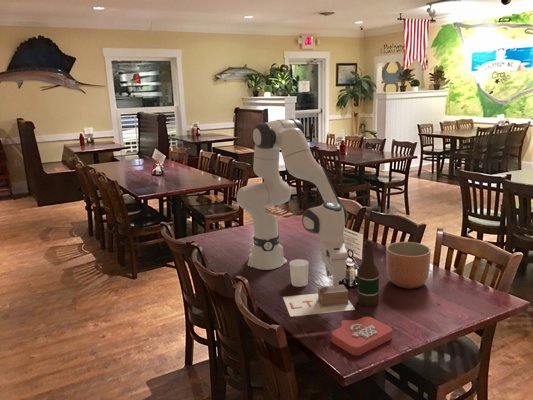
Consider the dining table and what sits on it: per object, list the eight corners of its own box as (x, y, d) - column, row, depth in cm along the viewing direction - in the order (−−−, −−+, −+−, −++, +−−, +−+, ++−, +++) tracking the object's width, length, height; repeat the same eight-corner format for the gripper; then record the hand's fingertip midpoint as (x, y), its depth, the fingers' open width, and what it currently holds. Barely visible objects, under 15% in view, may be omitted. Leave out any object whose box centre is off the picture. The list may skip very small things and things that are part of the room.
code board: (282, 298, 177) (282, 296, 177) (342, 292, 180) (342, 290, 180) (290, 318, 162) (290, 316, 162) (355, 311, 165) (355, 309, 165)
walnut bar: (318, 299, 174) (318, 287, 173) (343, 296, 175) (343, 284, 174) (322, 306, 168) (322, 293, 167) (348, 303, 169) (348, 291, 168)
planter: (384, 274, 195) (385, 241, 192) (426, 276, 192) (427, 242, 188) (386, 291, 179) (387, 255, 175) (431, 293, 176) (433, 257, 172)
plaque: (361, 310, 158) (395, 327, 146) (361, 320, 159) (395, 338, 147) (322, 327, 148) (356, 347, 136) (323, 337, 149) (356, 358, 137)
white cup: (286, 285, 189) (285, 263, 186) (298, 279, 194) (297, 257, 192) (301, 290, 184) (300, 267, 181) (312, 284, 189) (312, 261, 187)
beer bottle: (353, 300, 173) (353, 240, 168) (370, 295, 176) (371, 237, 171) (365, 308, 166) (365, 247, 161) (382, 304, 169) (383, 243, 164)
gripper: (317, 237, 176) (317, 270, 180) (331, 257, 156) (331, 293, 160) (332, 236, 177) (332, 268, 180) (349, 255, 157) (348, 291, 161)
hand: (332, 280), depth 170 cm, fingers open, 8 cm apart
